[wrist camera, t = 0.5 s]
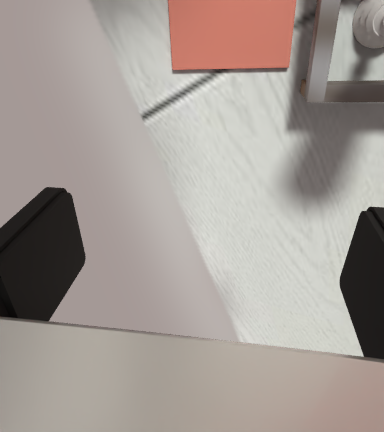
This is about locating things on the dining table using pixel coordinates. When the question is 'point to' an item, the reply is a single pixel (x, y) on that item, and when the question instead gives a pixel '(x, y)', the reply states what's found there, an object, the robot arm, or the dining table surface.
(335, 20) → the ring stand
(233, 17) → the coaster
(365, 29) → the chalice
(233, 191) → the dining table surface
